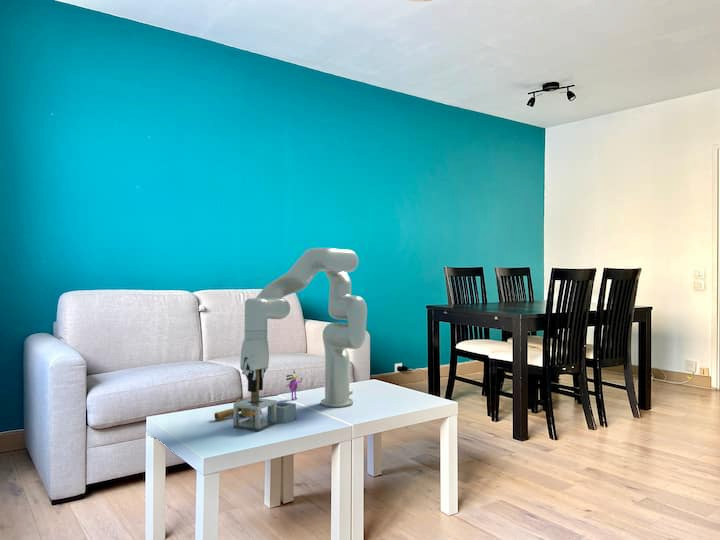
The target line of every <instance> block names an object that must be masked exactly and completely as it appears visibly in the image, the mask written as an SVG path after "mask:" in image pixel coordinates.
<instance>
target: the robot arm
mask: <svg viewBox="0 0 720 540" xmlns="http://www.w3.org/2000/svg"><path fill="white" fill-rule="evenodd" d="M358 266H359V257H358V255H357V254H356V252H355V251H353V250H351V249H344V248H341V249H340V248H334V247H333V248H332V247H316V248H315V247H313V248H309V249H307V250H305V251H304V252H303V254H301V256H300V257H299V258H298V259H297V260H296V262H294V264H293V265H292V267H291V268H290V269H289V270H288V271H287V272H286V273H285V274H282V275H280V276H279V277H277V278H276V279H275V280H273V281H271V282H270V283H268V284H267V285H266V286H264V288H263V289H261V291H259V293H258V295H257V296H256V297H253V298H252V297H251V298H247V299H245V301H244V332H243V333H244V337H243V340H242V344H241V349H240V363H239V366H240V367H239V368H240V370H241V371H242V372H241V374H242V375H243V376H245V377H246V380H247V391H248V392H249V393H251V392H257V380H255V379H256V370H259V391H263V390H264V386H263V385H264V378H265V373H266V371H267V370H268V369H269V363H270V349H269V341H268V320H269V319H270V320H282V319H285V318H286V317H288V316H289V314H290V312H291V304H290V302H289V301H288V300H287V299H285V297H286V296H289V295H291V294H295V293H297V292H300V291H304V289H306V288H307V286H308V285H309V284H310V282H311V281H312V280H313V278H315V276H316V275H317V274H319V272H324V274H325V275H326V277H327V278H328V281H329V296H328V314H329V316H330V317H331V318H333V319H336V320H344V321H345V320H346V321H347V323H346V322H329V323H328V324H326V326H324V329H322V330H323V331H322V341H323V347H324V359H325V360H324V398H322V399H321V400H320V404H321V405H322V406H325V407H329V408H342V407H348V406H352V405H353V404H354V400H353V399H352V398H350V396H351V395H353V393H354V392H353V390H352V389H350V355H349V351H348V350H347V349H350V350H357V349H361V347H362V346H363V345H364V343H365V339H366V335H367V333H366V331H367V320H368V319H367V317H368V307H367V303H366V301H365V299H364V298H363V297H362V296H358V295H352V280H351V278H350V275H349V274H348V273H351V272H354V271H355V270H356V269H357V268H358ZM251 372H252V373H251Z"/></svg>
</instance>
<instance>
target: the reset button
mask: <svg viewBox="0 0 720 540" xmlns="http://www.w3.org/2000/svg"><path fill="white" fill-rule="evenodd" d="M249 415H253V418H255V410H250V411H249Z"/></svg>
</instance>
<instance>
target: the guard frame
mask: <svg viewBox="0 0 720 540" xmlns="http://www.w3.org/2000/svg"><path fill="white" fill-rule="evenodd" d="M242 400H243V401H240V402H236V401H235V402H236V403H235V402H234V403H233V406H234V407H233V408H234V415H233V420H232V421H233V423H232V425H233V429H239V430H245V431H250V432H256V433H259V432H261V431H264V430H266V429H269V428H271V427H274V426H276V425H277V422H276V413H277V402H278V401H277V400H276V399H267V398H262V397H261V398H260V397H259V403H257V404H254V403H251V397H249V398H246V399H242ZM271 405H272V408H271V420H267V419H263V418H262V417H261V415H262V409H265V408H268V406H271ZM239 407H241V408H248V409H250V410H255V418H253V415H250V417H249V418H247V419H246V420H242V421H240V420H239V419H240V416H239V415H240V412H239Z"/></svg>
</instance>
